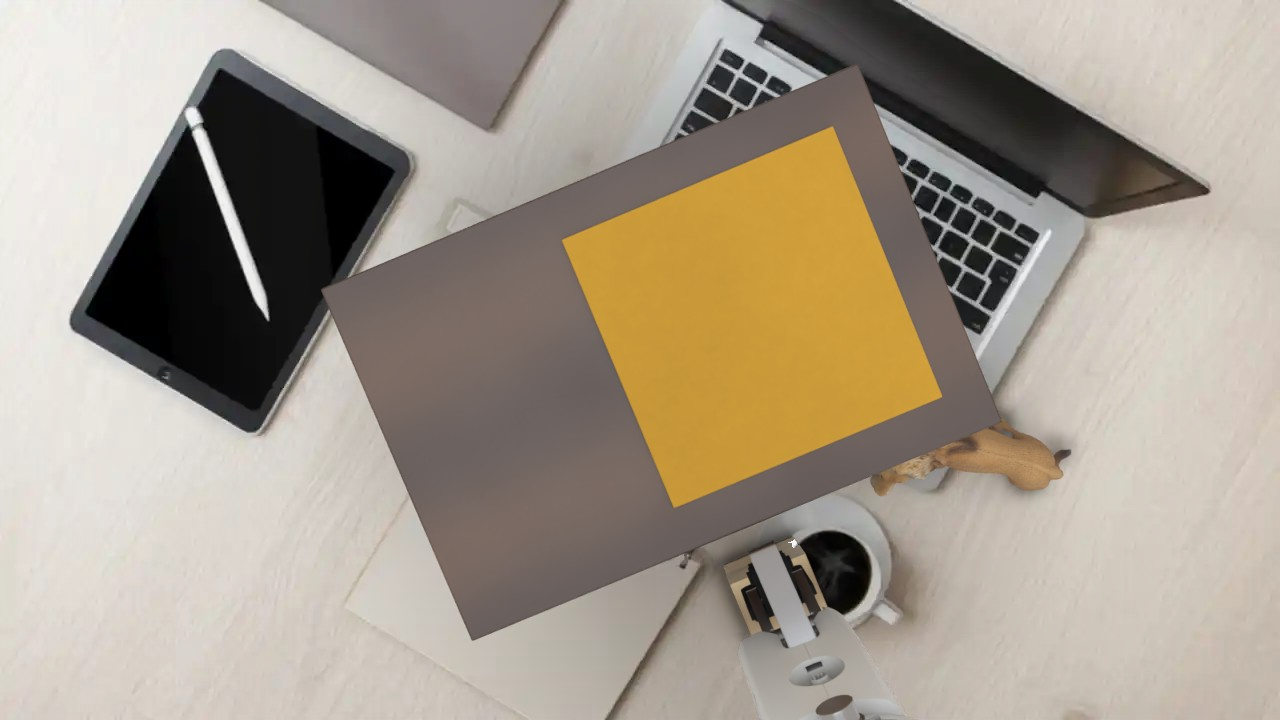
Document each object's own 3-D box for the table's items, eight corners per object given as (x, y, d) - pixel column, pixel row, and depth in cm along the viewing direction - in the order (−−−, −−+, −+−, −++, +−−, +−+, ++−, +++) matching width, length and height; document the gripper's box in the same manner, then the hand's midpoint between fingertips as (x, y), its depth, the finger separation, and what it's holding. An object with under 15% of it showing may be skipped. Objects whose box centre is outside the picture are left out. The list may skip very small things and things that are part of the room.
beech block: (822, 605, 72) (836, 627, 67) (752, 634, 72) (760, 658, 67) (793, 536, 72) (805, 553, 67) (723, 565, 72) (729, 584, 67)
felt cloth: (940, 396, 46) (943, 397, 45) (673, 506, 46) (673, 508, 45) (831, 127, 45) (833, 125, 45) (561, 240, 45) (561, 239, 45)
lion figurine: (841, 478, 72) (870, 502, 63) (845, 397, 72) (875, 410, 63) (1064, 488, 72) (1125, 514, 63) (1070, 408, 72) (1132, 422, 63)
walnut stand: (870, 381, 72) (1002, 422, 46) (531, 521, 72) (471, 641, 46) (777, 153, 71) (858, 62, 45) (436, 296, 71) (319, 289, 45)
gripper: (687, 648, 37) (671, 540, 54) (885, 1110, 37) (807, 858, 54) (895, 560, 36) (813, 480, 54) (1090, 1026, 37) (947, 800, 54)
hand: (810, 671), depth 54 cm, fingers open, 9 cm apart
